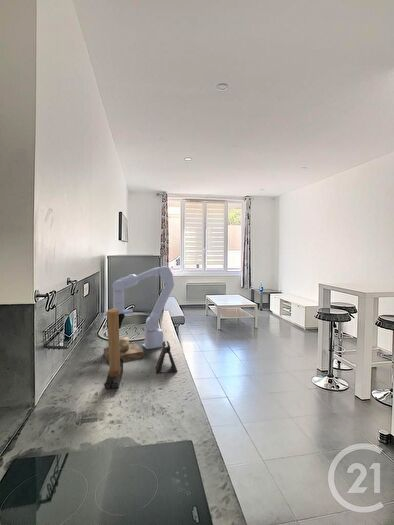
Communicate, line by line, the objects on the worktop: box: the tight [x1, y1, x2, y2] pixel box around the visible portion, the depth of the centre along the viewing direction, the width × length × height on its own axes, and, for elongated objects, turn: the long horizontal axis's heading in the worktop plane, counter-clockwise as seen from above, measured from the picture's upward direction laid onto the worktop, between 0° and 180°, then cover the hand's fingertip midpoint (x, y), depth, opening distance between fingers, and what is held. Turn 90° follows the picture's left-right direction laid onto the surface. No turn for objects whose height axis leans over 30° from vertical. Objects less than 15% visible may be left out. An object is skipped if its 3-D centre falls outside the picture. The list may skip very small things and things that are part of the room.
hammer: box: [103, 308, 125, 389], centre depth 117 cm, size 20×5×30 cm, turn 7°
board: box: [103, 342, 145, 362], centre depth 148 cm, size 16×14×3 cm
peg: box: [119, 336, 130, 351], centre depth 148 cm, size 5×5×8 cm
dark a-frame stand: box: [155, 340, 178, 375], centre depth 130 cm, size 9×6×12 cm, turn 100°
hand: (118, 328), depth 159 cm, fingers closed
